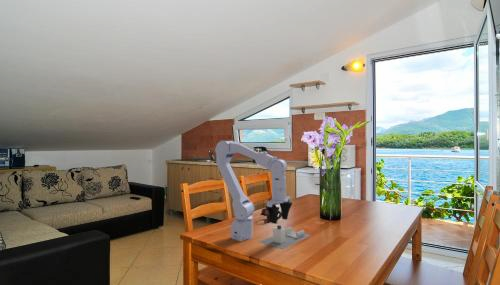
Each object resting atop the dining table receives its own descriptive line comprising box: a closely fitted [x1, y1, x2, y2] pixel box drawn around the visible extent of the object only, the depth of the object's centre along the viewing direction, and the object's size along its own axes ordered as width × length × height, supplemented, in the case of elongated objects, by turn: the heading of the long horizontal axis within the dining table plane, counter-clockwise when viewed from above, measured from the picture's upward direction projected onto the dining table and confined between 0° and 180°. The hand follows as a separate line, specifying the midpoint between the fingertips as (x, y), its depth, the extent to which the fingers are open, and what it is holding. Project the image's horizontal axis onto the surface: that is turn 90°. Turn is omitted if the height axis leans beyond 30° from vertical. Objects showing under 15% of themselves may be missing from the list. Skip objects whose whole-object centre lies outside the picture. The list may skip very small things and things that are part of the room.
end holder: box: [285, 226, 306, 239], centre depth 132 cm, size 6×8×2 cm
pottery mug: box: [260, 207, 282, 224], centre depth 157 cm, size 12×10×8 cm
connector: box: [272, 224, 286, 244], centre depth 124 cm, size 3×4×6 cm
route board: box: [259, 230, 312, 250], centre depth 127 cm, size 22×12×1 cm, turn 138°
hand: (279, 221), depth 124 cm, fingers open, 7 cm apart
